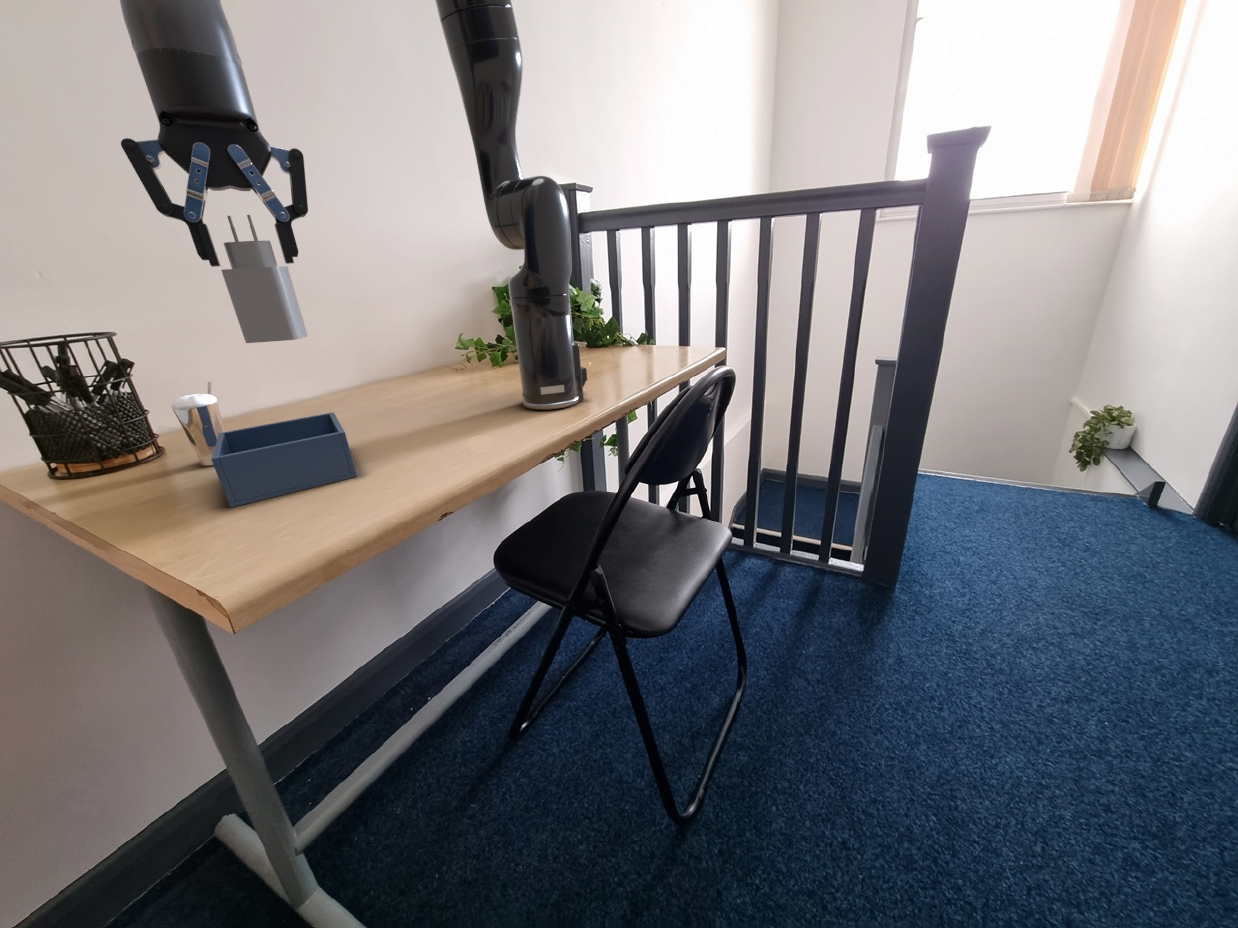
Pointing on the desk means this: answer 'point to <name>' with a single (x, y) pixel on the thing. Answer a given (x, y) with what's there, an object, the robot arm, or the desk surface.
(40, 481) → the desk surface
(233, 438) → the basket
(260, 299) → the power adapter
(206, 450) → the milkshake
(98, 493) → the desk surface
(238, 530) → the desk surface
